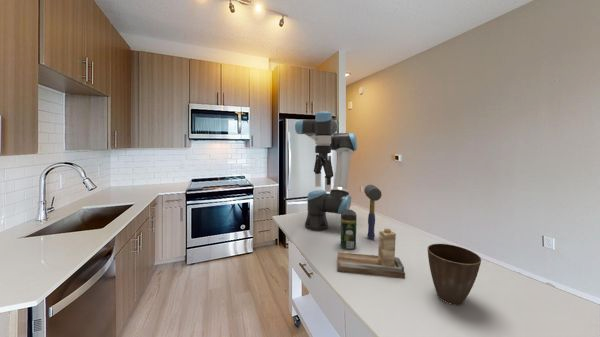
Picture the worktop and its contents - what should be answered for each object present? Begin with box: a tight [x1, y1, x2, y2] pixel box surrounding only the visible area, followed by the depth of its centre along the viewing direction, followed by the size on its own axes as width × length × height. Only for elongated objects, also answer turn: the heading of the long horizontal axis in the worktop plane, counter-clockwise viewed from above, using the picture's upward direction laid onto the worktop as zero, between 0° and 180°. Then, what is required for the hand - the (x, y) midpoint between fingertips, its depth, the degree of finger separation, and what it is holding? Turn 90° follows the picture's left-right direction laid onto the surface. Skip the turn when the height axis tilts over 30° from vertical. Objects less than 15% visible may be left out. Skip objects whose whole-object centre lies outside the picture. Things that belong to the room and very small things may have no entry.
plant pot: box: [427, 243, 482, 306], centre depth 77 cm, size 15×15×16 cm
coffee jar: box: [340, 209, 357, 250], centre depth 117 cm, size 10×8×19 cm
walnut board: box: [337, 252, 406, 279], centre depth 97 cm, size 13×26×4 cm, turn 80°
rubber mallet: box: [363, 184, 382, 240], centre depth 126 cm, size 12×8×30 cm, turn 175°
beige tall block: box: [377, 228, 397, 267], centre depth 94 cm, size 4×5×15 cm
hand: (322, 189), depth 110 cm, fingers open, 13 cm apart
